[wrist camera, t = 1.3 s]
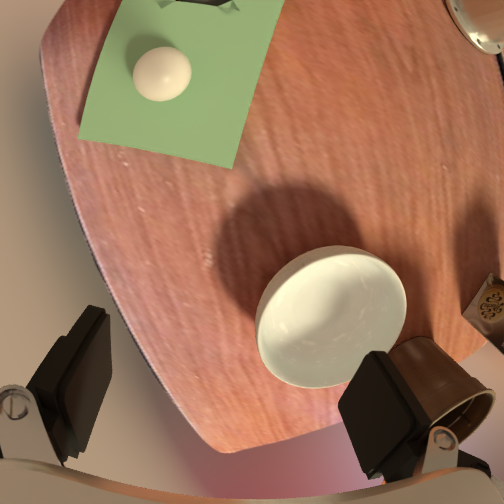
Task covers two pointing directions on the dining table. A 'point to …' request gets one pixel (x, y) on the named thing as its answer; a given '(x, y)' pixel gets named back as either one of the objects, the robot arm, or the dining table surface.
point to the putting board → (201, 83)
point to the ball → (162, 74)
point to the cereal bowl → (328, 315)
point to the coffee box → (489, 311)
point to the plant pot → (443, 387)
